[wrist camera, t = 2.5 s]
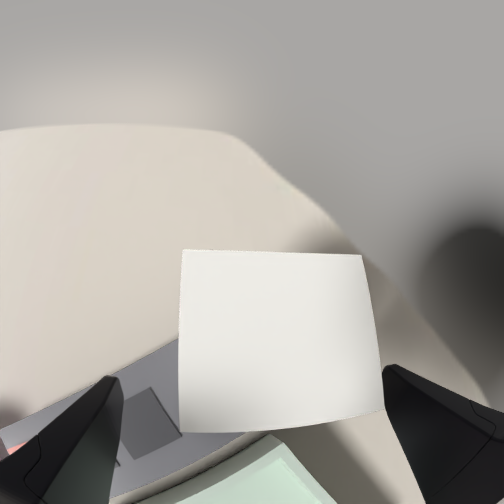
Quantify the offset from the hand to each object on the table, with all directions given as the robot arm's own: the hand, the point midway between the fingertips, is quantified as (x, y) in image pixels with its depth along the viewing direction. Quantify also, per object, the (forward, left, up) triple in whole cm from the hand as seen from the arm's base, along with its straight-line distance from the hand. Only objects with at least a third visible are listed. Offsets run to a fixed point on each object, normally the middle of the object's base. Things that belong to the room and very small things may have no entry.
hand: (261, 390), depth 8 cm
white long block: (+1, -1, -8) cm, 8 cm away
